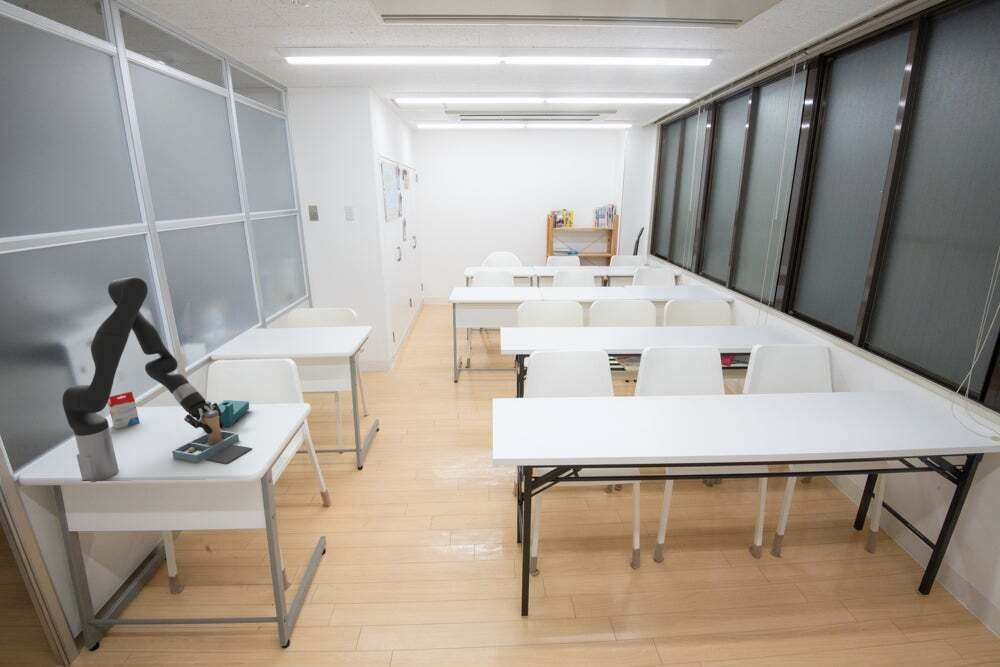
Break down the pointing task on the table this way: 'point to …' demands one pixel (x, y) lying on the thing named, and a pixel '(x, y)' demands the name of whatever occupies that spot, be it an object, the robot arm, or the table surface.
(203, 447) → the parts tub
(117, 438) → the table surface
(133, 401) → the ink box
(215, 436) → the brown canister
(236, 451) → the black mat
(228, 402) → the teal notched block
